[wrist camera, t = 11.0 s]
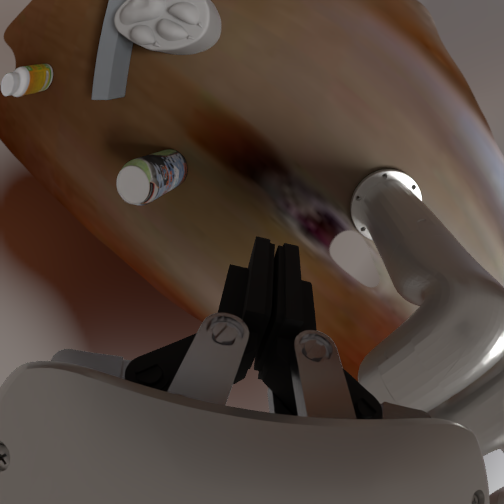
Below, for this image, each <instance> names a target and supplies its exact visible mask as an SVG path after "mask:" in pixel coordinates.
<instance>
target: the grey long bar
mask: <svg viewBox="0 0 504 504" xmlns="http://www.w3.org/2000/svg"><path fill="white" fill-rule="evenodd" d="M125 1H126V0H109V2H108V6H107V10H106V14H105V18H104V23H103V27H102V32H101V37H100V42H99V47H98V53H97V59H96V66H95V73H94V81H93V90H92V100H110V99H115V98H120V97H125V90H126V82H127V76H128V69H129V63H130V57H131V52H132V46H133V42H132V41H130V40H129V39H128V38H126V37H125V36H123V35H122V34H121V33H120V32H119V31H118V30H117V29H116V26H115V22H114V18H115V14H116V12H117V10H118V9H119V8H120V6H121V5H122V4H123V3H124V2H125Z"/></svg>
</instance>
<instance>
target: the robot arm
mask: <svg viewBox="0 0 504 504" xmlns="http://www.w3.org/2000/svg"><path fill="white" fill-rule="evenodd" d="M383 174H384V175H383ZM382 175H383V176H382ZM357 196H359V197H357ZM350 212H351V217H352V220H353V223H354V225H355V226H356V228H357V230H358V231H359V232H360V233H361V234H362V235H363V236H365V237H366V238H368V239H370V240H373V241H374V243H375V246H376V248H377V250H378V252H379V254H380V256H381V258H382V260H383V262H384V265H385V267H386V269H387V271H388V273H389V276H390V278H391V280H392V282H393V284H394V287H395V288H396V290H397V292H398V293H399V294H400V295H401V296H402V297H403V298H404V299H405V300H407V301H409V302H410V303H413V304H415V305H418V306H420V307H419V308H418V309H417V310H416V311H415V312H414V313H413V314H412V315H411V316H410V317H409V319H408V320H406V321H405V322H404V323H403V324H402V325H401V326H400V327H398V328H397V329H396V330H395V331H394V332H393V333H391V334H390V335H389V336H388V337H387V338H385V339H384V340H383V341H382V342H381V343H380V344H378V345H377V346H376V347H375V348H374V349H373V350H372V351H370V352H369V353H368V355H367V356H366V357H365V358H364V360H363V361H362V363H361V365H360V368H359V372H358V381H359V382H357V381H356V380H355V379H354V378H353V377H352V376H351V375H350V374H349V373H348V372H346V371H345V370H344V369H343V368H342V365H341V361H340V358H339V354H338V351H337V348H336V346H335V344H334V342H333V341H332V340H331V338H330V337H328V336H327V335H326V334H324V333H322V332H319V331H316V320H315V310H314V301H313V291H312V284H311V283H310V282H307V281H302V280H301V270H300V257H299V247H298V246H295V245H291V244H287V243H284V245H283V246H278V248H277V251H276V254H275V257H274V249H275V244H271V243H270V239H265V238H261V237H257V236H256V239H255V243H254V247H253V251H252V254H251V258H250V262H249V266H248V268H244V267H239V266H235V265H230V266H229V270H228V274H227V278H226V282H225V286H224V290H223V294H222V298H221V302H220V306H219V310H218V313H215V314H211V315H210V316H208V317H207V318H206V319H205V320H204V321H203V322H202V324H201V326H200V328H199V330H198V332H197V333H196V334H194V335H191V336H189V337H186V338H184V339H182V340H179V341H177V342H174V343H172V344H169V345H167V346H165V347H162V348H160V349H157V350H155V351H152V352H150V353H147V354H144V355H142V356H139V357H137V358H135V359H134V360H132V361H130V360H123V357H120V356H113V355H105V354H98V353H91V352H85V351H79V350H73V349H64V350H61V351H59V352H57V353H56V354H55V355H54V356H53V358H52V360H51V361H37V362H30V363H26V364H23V365H21V366H19V367H18V368H16V369H15V370H14V371H13V372H12V373H11V374H10V375H9V376H8V377H7V379H6V380H5V381H4V383H3V384H2V386H1V387H0V504H504V487H502V488H500V489H499V490H497V491H495V492H494V493H492V494H491V495H490V496H489V489H488V481H487V475H486V469H485V464H484V460H483V456H484V455H486V454H488V453H490V452H492V451H494V450H497V449H501V450H502V451H503V452H504V287H503V286H502V285H501V284H500V283H499V282H498V281H497V280H496V279H495V278H494V277H493V276H492V275H490V274H489V273H488V272H487V271H486V270H485V269H484V268H483V267H482V266H481V265H480V264H479V263H478V262H477V261H476V260H475V259H474V258H473V257H472V256H471V255H470V254H469V253H468V252H467V251H466V250H465V248H464V247H463V246H462V245H461V244H460V243H459V242H458V241H457V239H456V238H455V237H454V236H453V235H452V233H451V232H450V231H449V230H448V229H447V228H446V227H445V226H444V225H443V223H442V222H441V221H440V220H439V219H438V218H437V217H436V216H435V215H434V214H433V212H432V211H431V210H430V209H429V208H428V207H427V206H426V205H425V204H424V203H423V202H422V195H421V191H420V189H419V187H418V185H417V184H416V182H415V181H414V180H413V179H412V178H411V177H410V176H409V175H407V174H406V173H404V172H402V171H400V170H396V169H382V170H378V171H375V172H373V173H371V174H370V175H368V176H367V177H365V178H364V179H363V180H362V181H361V182H360V183H359V185H358V186H357V188H356V189H355V191H354V193H353V196H352V199H351V204H350ZM361 227H362V228H361ZM254 358H255V363H254V370H258V371H259V374H258V379H262V380H263V382H264V383H265V384H266V385H267V386H268V387H269V388H268V402H269V413H267V412H259V411H254V410H247V409H241V408H235V407H230V406H225V405H226V402H227V399H228V396H229V394H230V391H231V388H232V385H233V384H235V383H237V382H238V381H240V380H242V379H244V378H245V376H246V373H247V370H248V369H250V367H251V365H252V362H253V360H254Z"/></svg>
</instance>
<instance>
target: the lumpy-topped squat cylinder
mask: <svg viewBox="0 0 504 504" xmlns="http://www.w3.org/2000/svg"><path fill="white" fill-rule="evenodd" d="M114 22H115V26H116V29H117V30H118V31H119V32H120V33H121V34H122V35H123V36H125V37H126V38H128V39H129V40H130V41H132V42H134V43H136V44H138V45H140V46H142V47H144V48H146V49H149V50H153V51H159V52H164V53H169V54H176V55H189V54H195V53H199V52H202V51H205V50H207V49H209V48H211V47H212V46H213V45H214V44H215V43H216V42H217V40H218V39H219V37H220V33H221V19H220V16H219V14H218V11H217V9H216V7H215V6H214V4H213V3H212V2H211V1H210V0H126V1H125V2H124V3H123V4H122V5H121V6H120V8H119V9H118V10H117V12H116V14H115V18H114Z"/></svg>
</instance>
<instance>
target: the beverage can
mask: <svg viewBox="0 0 504 504" xmlns="http://www.w3.org/2000/svg"><path fill="white" fill-rule="evenodd" d="M187 172H188V167H187V163H186V160H185V158H184V157H183V156H182V155H181V154H180V153H179V152H177V151H175V150H171V149H168V150H163V151H160V152H156V153H153V154H150V155H146V156H143V157H140V158H136V159H133V160H131V161H129V162H127V163H126V164H125V165H124V166H123V168H122V169H121V171H120V172H119V174H118V177H117V190H118V192H119V194H120V196H121V197H122V199H123V200H125V201H126V202H128V203H130V204H135V205H146V204H148V203H150V202H152V201H153V200H155V199H157V198H158V197H160V196H162V195H163V194H165V193H167V192H168V191H170V190H172V189H174V188H175V187H177V186H179V185H180V184H182V182H183V181H184V180H185V178H186V176H187Z"/></svg>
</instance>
